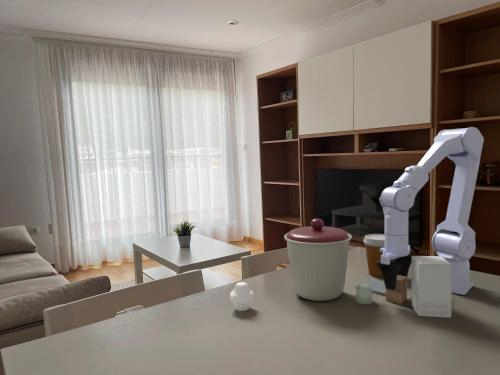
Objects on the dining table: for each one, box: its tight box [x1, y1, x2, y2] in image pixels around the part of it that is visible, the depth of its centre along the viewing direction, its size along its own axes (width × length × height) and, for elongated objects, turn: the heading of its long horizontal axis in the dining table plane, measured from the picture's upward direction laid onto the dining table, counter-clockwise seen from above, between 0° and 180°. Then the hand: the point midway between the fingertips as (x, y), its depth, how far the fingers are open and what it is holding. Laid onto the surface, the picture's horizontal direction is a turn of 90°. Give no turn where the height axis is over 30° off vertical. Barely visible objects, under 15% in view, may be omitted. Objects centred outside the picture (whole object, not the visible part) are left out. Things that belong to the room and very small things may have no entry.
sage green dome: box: [355, 283, 373, 305], centre depth 98 cm, size 4×4×4 cm
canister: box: [283, 218, 353, 302], centre depth 103 cm, size 18×18×21 cm
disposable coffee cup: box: [363, 233, 385, 278], centre depth 118 cm, size 10×10×12 cm
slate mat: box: [360, 277, 386, 296], centre depth 107 cm, size 9×9×1 cm
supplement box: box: [410, 255, 452, 319], centre depth 90 cm, size 7×7×13 cm
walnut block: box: [385, 275, 408, 304], centre depth 98 cm, size 4×4×6 cm
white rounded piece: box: [229, 281, 255, 312], centre depth 95 cm, size 6×6×7 cm
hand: (396, 285), depth 98 cm, fingers open, 7 cm apart
